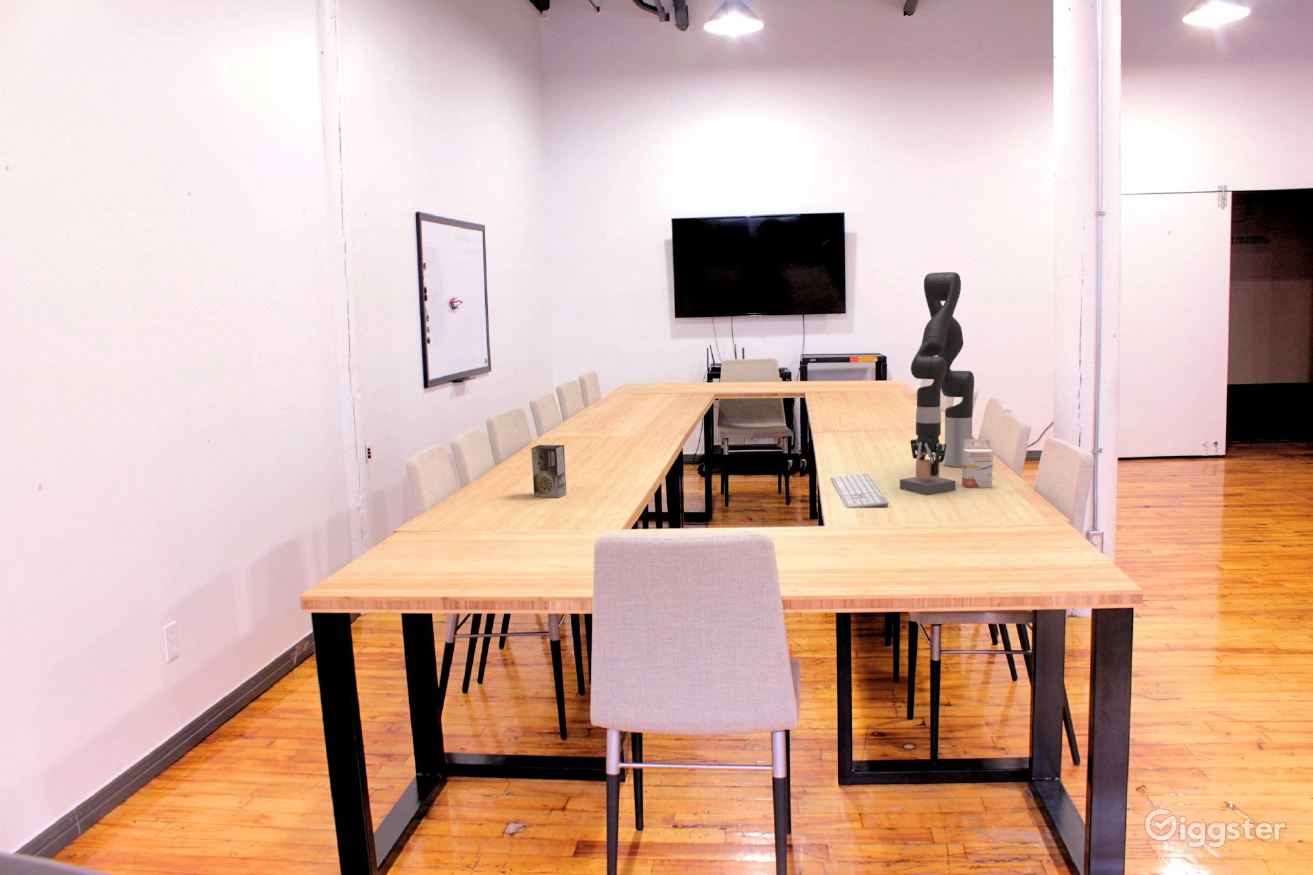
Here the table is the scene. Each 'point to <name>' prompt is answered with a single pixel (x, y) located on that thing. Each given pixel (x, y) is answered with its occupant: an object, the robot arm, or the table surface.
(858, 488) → the keyboard
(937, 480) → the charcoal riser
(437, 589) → the table surface
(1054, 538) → the table surface
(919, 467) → the terracotta cube
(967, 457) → the ink cartridge box
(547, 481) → the coffee box
